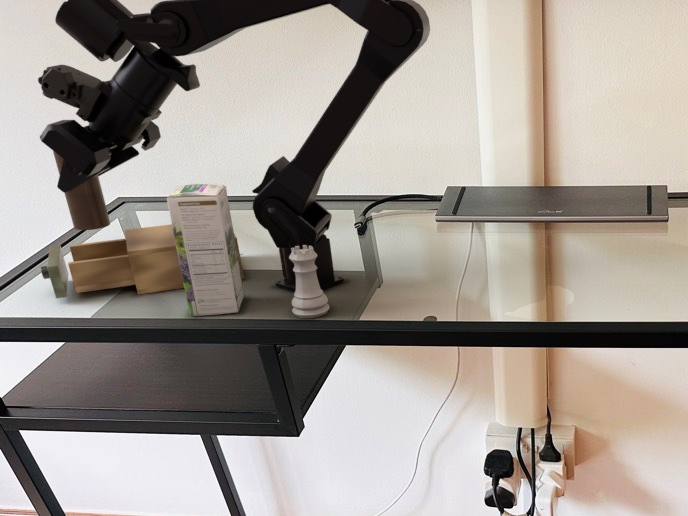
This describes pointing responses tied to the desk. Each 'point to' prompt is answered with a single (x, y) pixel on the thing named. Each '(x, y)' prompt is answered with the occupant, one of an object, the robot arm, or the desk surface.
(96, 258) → the drawer
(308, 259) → the rook chess piece
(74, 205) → the pepper mill
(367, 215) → the desk surface
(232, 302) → the syrup box
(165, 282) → the drawer unit
